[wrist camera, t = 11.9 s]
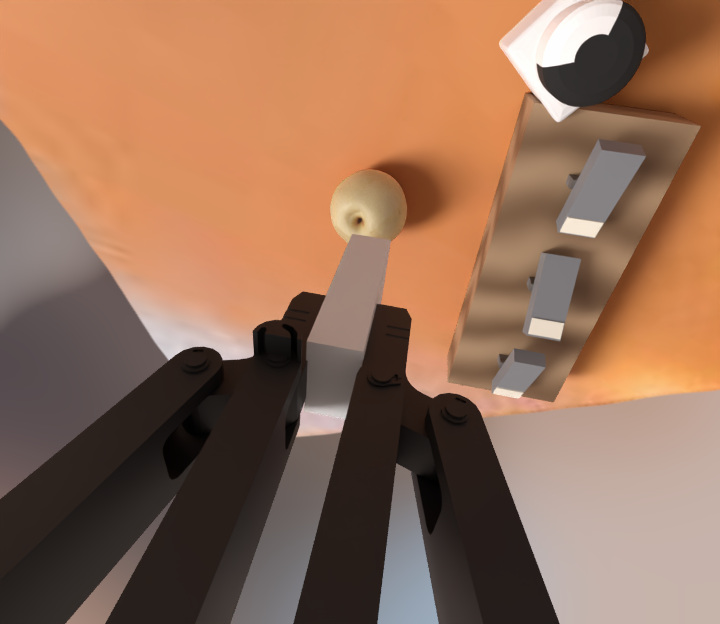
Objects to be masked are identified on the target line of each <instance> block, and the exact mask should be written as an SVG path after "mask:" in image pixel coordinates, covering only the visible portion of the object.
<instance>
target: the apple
mask: <svg viewBox="0 0 720 624" xmlns="http://www.w3.org/2000/svg"><path fill="white" fill-rule="evenodd" d="M330 213H331V220H332V223H333V226H334V228H335V230H336V232H337V233H338V234H339V235H340V237H341V238H342V239H343V240H345V241H346V242H347V243H348V242H349V240H350V238H351V235H352V234H357V235H363V236H369V237H375V238H381V239H387V240H391V241H392V240H393V239H395V238H396V237H397V236H398V235H399V233H400V232H401V231H402V229H403V227H404V224H405V221H406V217H407V204H406V199H405V195H404V193H403V190H402V188H401V186H400V185H399V183H398V182H397V181H396V180H395V179H394V178H393V177H391V176H390V175H388V174H387V173H385V172H382V171H379V170H373V169H366V170H361V171H358V172H356V173H354V174H352V175H350V176H349V177H347V178H346V179H344V180H343V181H342V182H341V183H340V184H339V185H338V187H337V188H336V190H335V192H334V194H333V197H332V200H331V206H330Z"/></svg>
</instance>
